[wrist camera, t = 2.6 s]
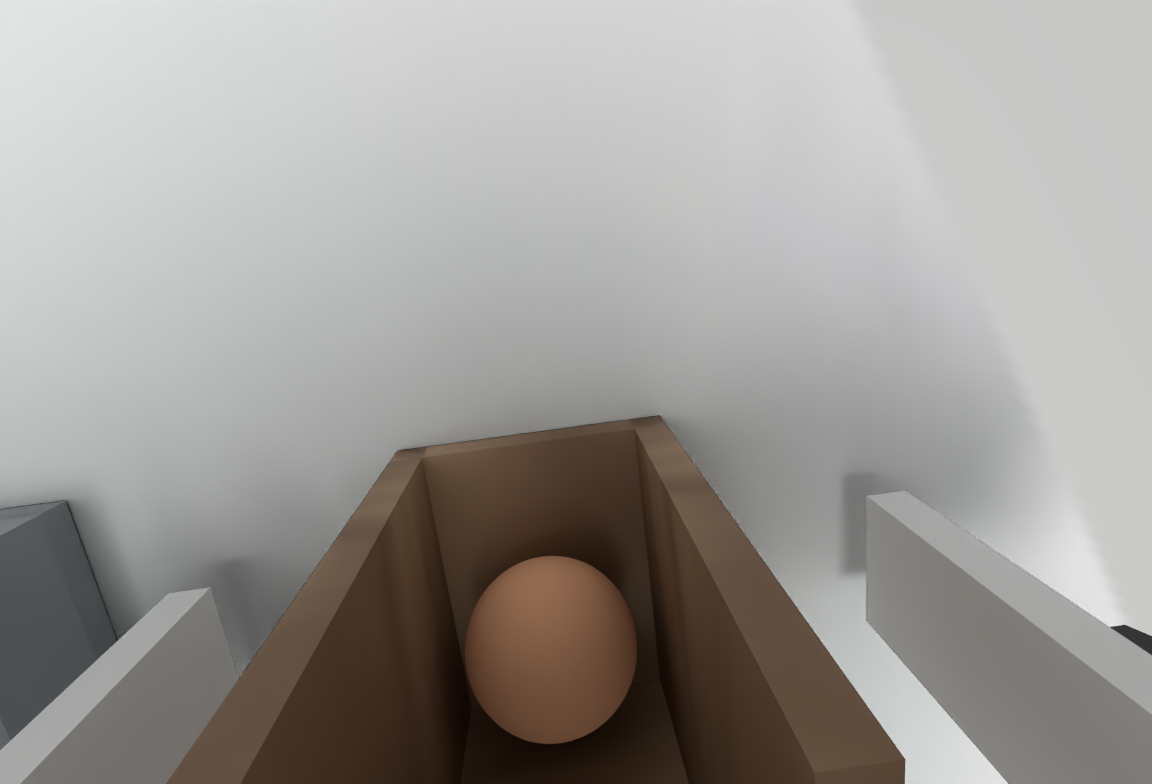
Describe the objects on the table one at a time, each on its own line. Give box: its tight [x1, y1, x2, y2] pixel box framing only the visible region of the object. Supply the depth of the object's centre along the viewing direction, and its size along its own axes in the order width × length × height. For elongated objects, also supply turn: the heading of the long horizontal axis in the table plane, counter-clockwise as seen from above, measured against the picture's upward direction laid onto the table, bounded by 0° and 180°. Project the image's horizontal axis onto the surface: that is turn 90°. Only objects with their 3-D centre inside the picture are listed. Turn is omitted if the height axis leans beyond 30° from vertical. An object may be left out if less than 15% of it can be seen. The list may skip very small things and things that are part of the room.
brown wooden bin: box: [166, 415, 905, 784], centre depth 8 cm, size 5×6×8 cm
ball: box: [465, 556, 637, 744], centre depth 10 cm, size 3×3×3 cm
